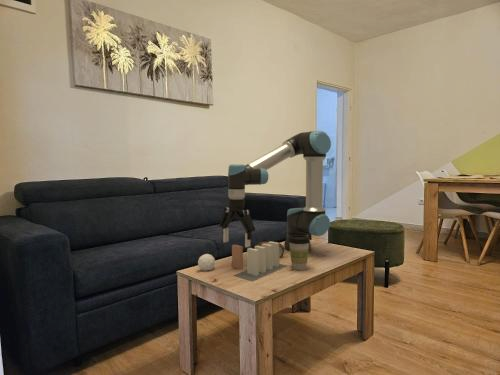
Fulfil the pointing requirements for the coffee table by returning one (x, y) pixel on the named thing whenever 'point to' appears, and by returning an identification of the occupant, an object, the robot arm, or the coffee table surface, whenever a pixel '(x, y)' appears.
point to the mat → (252, 277)
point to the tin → (281, 248)
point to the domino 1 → (237, 256)
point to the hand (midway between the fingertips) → (236, 244)
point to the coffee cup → (299, 251)
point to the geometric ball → (206, 262)
